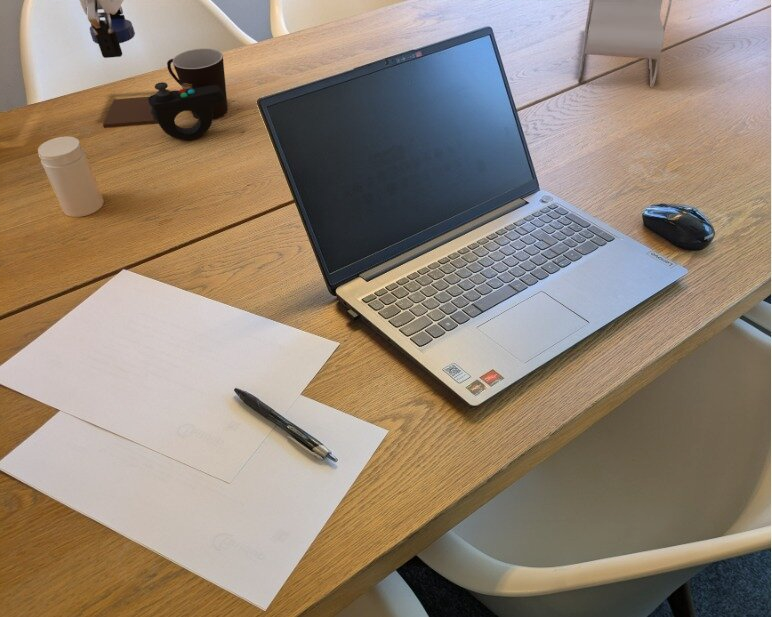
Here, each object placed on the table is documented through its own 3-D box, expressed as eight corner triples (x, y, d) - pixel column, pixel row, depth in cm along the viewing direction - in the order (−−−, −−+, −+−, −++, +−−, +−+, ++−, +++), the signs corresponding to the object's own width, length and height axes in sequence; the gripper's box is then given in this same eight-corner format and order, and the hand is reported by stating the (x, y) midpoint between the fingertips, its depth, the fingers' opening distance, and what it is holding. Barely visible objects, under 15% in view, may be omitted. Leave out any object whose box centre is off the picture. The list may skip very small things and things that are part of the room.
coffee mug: (241, 114, 120) (230, 60, 113) (197, 128, 117) (183, 73, 110) (215, 91, 127) (204, 39, 120) (173, 104, 124) (159, 51, 117)
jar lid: (138, 28, 115) (135, 17, 114) (131, 43, 110) (127, 32, 109) (97, 31, 115) (94, 19, 114) (88, 46, 110) (85, 34, 108)
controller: (158, 137, 115) (142, 82, 108) (228, 123, 118) (216, 68, 111) (161, 149, 112) (144, 93, 105) (233, 134, 115) (221, 78, 108)
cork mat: (103, 127, 118) (102, 124, 118) (114, 102, 125) (113, 99, 125) (160, 123, 119) (159, 119, 118) (167, 98, 126) (166, 95, 125)
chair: (649, 40, 138) (674, -64, 125) (652, 93, 121) (681, -22, 107) (583, 36, 141) (601, -66, 127) (577, 87, 123) (596, -25, 110)
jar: (58, 218, 98) (30, 158, 91) (68, 196, 102) (42, 137, 95) (99, 215, 98) (75, 155, 91) (107, 193, 102) (85, 134, 95)
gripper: (93, -54, 95) (130, 66, 108) (115, -84, 108) (147, 27, 120) (40, -50, 95) (84, 70, 107) (69, -81, 108) (105, 30, 120)
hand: (117, 46), depth 114 cm, fingers closed on jar lid, 6 cm apart
